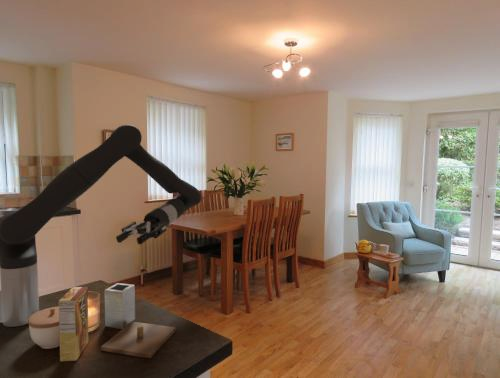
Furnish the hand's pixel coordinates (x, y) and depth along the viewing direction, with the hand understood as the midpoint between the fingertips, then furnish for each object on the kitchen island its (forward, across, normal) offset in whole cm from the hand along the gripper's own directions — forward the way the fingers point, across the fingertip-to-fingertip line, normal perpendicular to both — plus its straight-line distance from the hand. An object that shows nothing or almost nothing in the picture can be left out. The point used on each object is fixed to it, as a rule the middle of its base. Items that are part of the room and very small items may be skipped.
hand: (127, 240), depth 101 cm
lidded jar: (+26, -9, +17) cm, 32 cm away
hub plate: (+15, +11, +22) cm, 28 cm away
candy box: (+26, 0, +18) cm, 31 cm away
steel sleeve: (+11, -1, +22) cm, 25 cm away
